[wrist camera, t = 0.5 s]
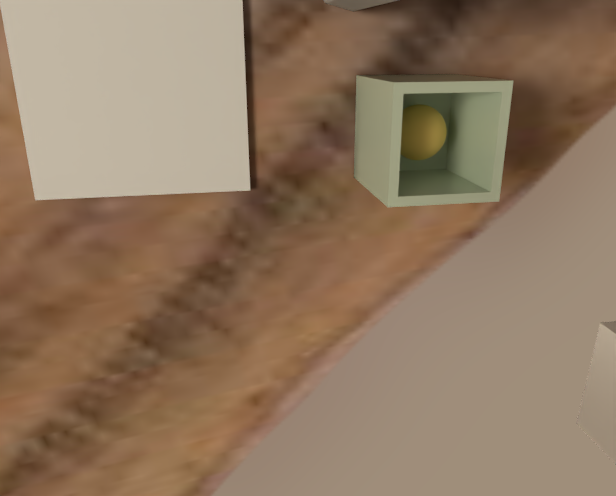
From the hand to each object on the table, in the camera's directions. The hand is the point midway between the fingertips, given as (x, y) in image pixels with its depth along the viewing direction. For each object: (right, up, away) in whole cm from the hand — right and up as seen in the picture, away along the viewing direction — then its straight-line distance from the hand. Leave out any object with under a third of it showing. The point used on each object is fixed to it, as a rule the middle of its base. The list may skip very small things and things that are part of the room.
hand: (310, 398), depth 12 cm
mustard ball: (+7, +11, +26) cm, 29 cm away
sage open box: (+7, +12, +27) cm, 31 cm away
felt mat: (-11, +13, +24) cm, 29 cm away
